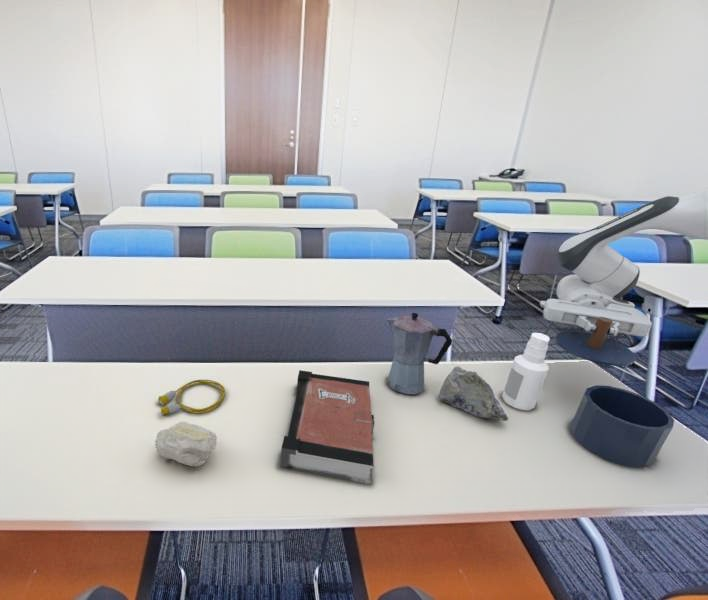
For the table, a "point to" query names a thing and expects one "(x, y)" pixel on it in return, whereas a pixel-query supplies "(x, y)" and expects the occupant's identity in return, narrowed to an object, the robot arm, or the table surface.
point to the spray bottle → (527, 374)
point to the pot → (621, 426)
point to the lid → (596, 345)
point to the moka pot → (412, 352)
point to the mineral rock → (471, 394)
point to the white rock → (186, 443)
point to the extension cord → (177, 406)
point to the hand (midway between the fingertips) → (602, 330)
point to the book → (330, 428)
